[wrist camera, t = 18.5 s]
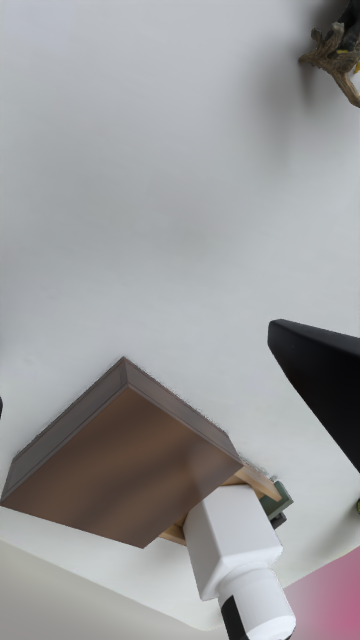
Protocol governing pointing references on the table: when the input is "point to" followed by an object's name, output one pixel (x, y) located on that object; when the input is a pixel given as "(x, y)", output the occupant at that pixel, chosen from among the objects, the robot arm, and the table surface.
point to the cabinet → (121, 461)
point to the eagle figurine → (339, 50)
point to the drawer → (267, 493)
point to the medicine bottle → (239, 563)
